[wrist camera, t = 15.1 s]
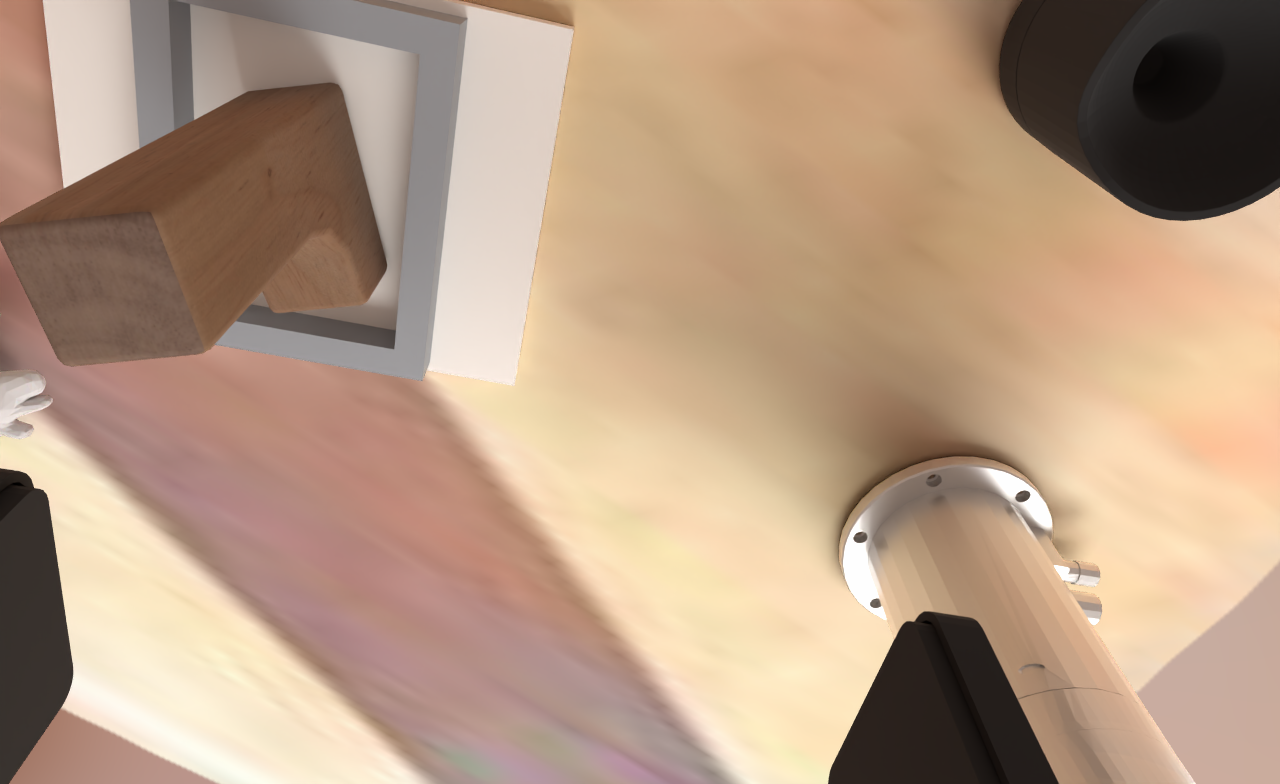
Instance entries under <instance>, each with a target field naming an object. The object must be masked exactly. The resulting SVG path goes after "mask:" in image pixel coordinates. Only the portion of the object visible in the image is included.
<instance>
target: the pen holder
mask: <svg viewBox="0 0 1280 784" xmlns="http://www.w3.org/2000/svg"><path fill="white" fill-rule="evenodd" d="M1000 84H1001V90H1002V93H1003V97H1004V100H1005V103H1006V105H1007V107H1008V109H1009V111H1010V113H1011V114H1012V116H1013V117H1014V119H1015V120H1016V122H1017V123H1018V124H1019V125H1020V126H1021V127H1022V128H1023V129H1024V130H1025V131H1026V132H1027V133H1029V134H1030V135H1031V136H1032V137H1034V138H1035V139H1036V140H1038V141H1039V142H1040V143H1041V144H1043V145H1044V146H1045V147H1046V148H1048V149H1049V150H1050V151H1052V152H1053V153H1054V154H1056V155H1057V156H1059V157H1060V158H1061V159H1063V160H1064V161H1065V162H1067V163H1068V164H1070V165H1071V166H1072V167H1074V168H1075V169H1077V170H1078V171H1079V172H1081V173H1082V174H1084V175H1085V176H1086V177H1088V178H1089V179H1091V180H1092V181H1093V182H1095V183H1096V184H1098V185H1099V186H1100V187H1102V188H1103V189H1105V190H1106V191H1107V192H1109V193H1110V194H1112V195H1113V196H1114V197H1116V198H1117V199H1119V200H1120V201H1121V202H1123V203H1124V204H1126V205H1127V206H1129V207H1131V208H1133V209H1135V210H1137V211H1138V212H1140V213H1143V214H1146V215H1149V216H1152V217H1155V218H1161V219H1166V220H1179V221H1188V220H1201V219H1206V218H1211V217H1216V216H1220V215H1223V214H1226V213H1230V212H1233V211H1236V210H1238V209H1240V208H1243V207H1245V206H1247V205H1250V204H1252V203H1254V202H1256V201H1258V200H1259V199H1261V198H1263V197H1265V196H1267V195H1269V194H1270V193H1272V192H1273V191H1274V190H1276V189H1277V188H1279V187H1280V0H1023V1H1022V2H1021V4H1020V6H1019V7H1018V9H1017V10H1016V12H1015V14H1014V16H1013V18H1012V20H1011V22H1010V24H1009V27H1008V29H1007V32H1006V35H1005V38H1004V42H1003V46H1002V50H1001V57H1000Z"/></svg>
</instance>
